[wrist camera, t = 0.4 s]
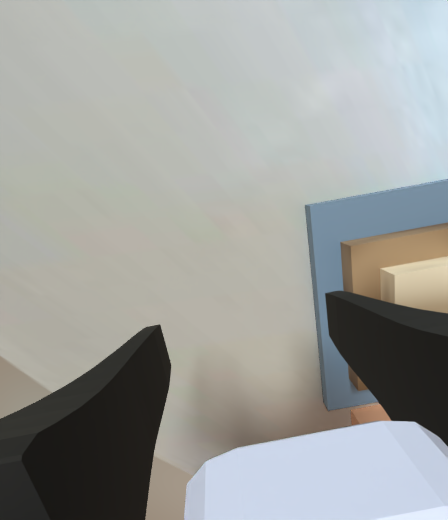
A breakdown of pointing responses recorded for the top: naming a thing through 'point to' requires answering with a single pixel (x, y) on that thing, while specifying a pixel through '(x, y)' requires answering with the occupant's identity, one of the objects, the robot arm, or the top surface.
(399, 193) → the plinth board
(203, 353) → the top surface
